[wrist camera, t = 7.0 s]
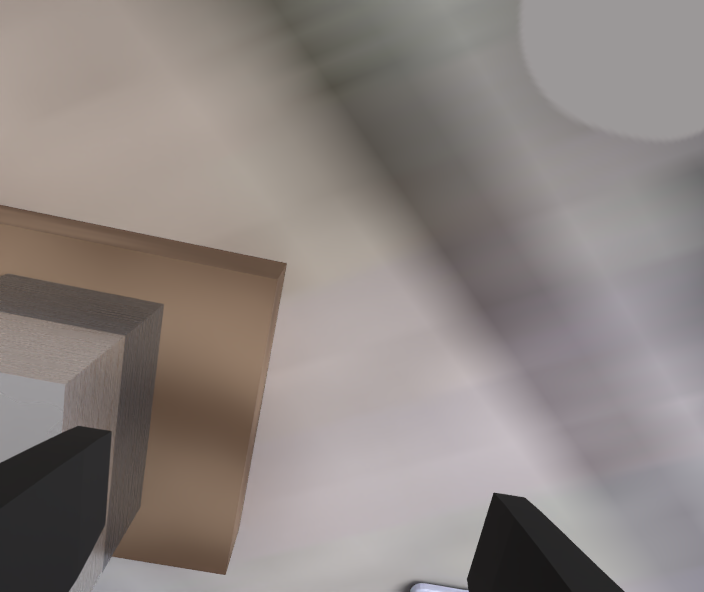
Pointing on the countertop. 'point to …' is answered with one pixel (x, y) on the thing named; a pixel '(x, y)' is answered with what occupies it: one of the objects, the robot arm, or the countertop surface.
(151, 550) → the stand
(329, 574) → the countertop surface
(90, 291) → the block
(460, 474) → the countertop surface
